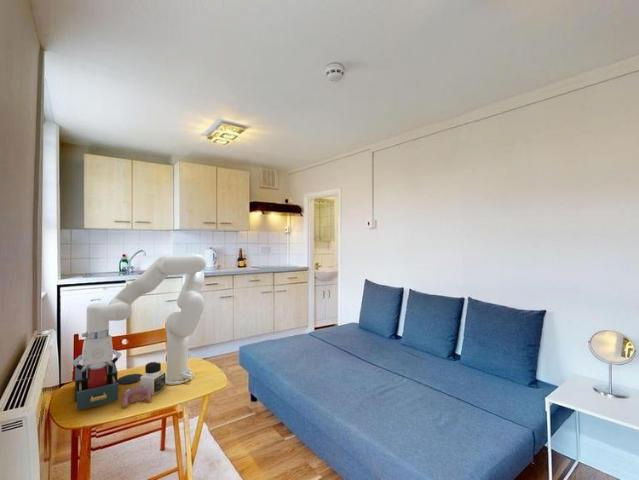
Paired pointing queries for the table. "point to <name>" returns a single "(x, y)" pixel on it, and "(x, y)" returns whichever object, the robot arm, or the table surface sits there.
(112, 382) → the drawer
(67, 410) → the table surface
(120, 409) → the table surface
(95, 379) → the can
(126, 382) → the coaster
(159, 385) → the medicine bottle
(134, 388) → the video game controller
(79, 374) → the cabinet
